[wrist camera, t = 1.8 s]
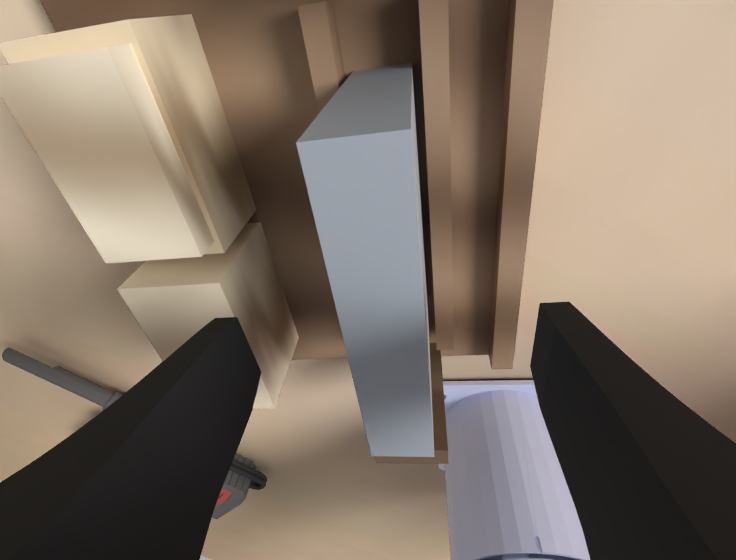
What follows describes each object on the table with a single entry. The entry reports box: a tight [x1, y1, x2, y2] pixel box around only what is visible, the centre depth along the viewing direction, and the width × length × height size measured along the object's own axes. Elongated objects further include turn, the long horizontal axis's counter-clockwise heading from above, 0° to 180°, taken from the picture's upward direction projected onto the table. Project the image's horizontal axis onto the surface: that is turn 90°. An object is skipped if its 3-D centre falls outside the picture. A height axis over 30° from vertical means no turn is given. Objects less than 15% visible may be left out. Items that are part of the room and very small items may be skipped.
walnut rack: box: [41, 0, 553, 464], centre depth 14 cm, size 18×16×7 cm
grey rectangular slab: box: [296, 63, 435, 457], centre depth 13 cm, size 10×2×8 cm, turn 8°
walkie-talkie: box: [2, 348, 267, 519], centre depth 28 cm, size 9×4×20 cm
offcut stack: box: [0, 14, 299, 409], centre depth 15 cm, size 15×4×4 cm, turn 8°
